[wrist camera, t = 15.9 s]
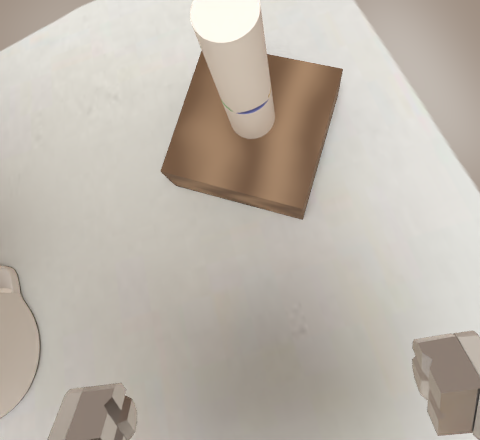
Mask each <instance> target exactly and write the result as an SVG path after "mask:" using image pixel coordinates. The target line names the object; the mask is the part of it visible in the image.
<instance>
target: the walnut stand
mask: <svg viewBox="0 0 480 440" xmlns="http://www.w3.org/2000/svg"><path fill="white" fill-rule="evenodd" d="M267 59H268V67H269V74H270V82H271V89H272V97H273V104H274V112H275V121H274V124H273V126H272V128H271V129H270V131H269V132H268V133H267V134H265V135H264V136H262V137H259V138H256V139H247V138H243V137H241V136H239V135H238V134H237V133H236V132H235V131H234V130H233V128H232V126H231V124H230V121H229V118H228V116H227V113H226V111H225V108H224V106H223V103H222V101H221V98H220V95H219V93H218V90H217V88H216V85H215V83H214V80H213V78H212V75H211V72H210V70H209V67H208V65H207V62H206V60H205V57H204V55H203V52H202V51H201V54H200V57H199V60H198V63H197V66H196V69H195V72H194V75H193V78H192V81H191V83H190V86H189V89H188V92H187V95H186V98H185V101H184V104H183V107H182V110H181V113H180V116H179V119H178V122H177V125H176V128H175V130H174V133H173V136H172V139H171V142H170V145H169V148H168V151H167V154H166V157H165V160H164V163H163V166H162V169H161V172H162V173H163V174H164V175H165V176H166V177H167V178H168V179H169V180H170V181H171V182H172V183H174V184H175V185H176V186H179V187H183V188H187V189H191V190H194V191H198V192H202V193H205V194H209V195H213V196H217V197H220V198H224V199H228V200H232V201H235V202H239V203H243V204H247V205H250V206H254V207H258V208H261V209H265V210H269V211H273V212H276V213H280V214H284V215H288V216H291V217H295V218H299V219H302V220H303V217H304V213H305V210H306V206H307V202H308V199H309V195H310V192H311V188H312V185H313V181H314V178H315V174H316V171H317V167H318V164H319V160H320V157H321V153H322V149H323V146H324V142H325V139H326V135H327V132H328V128H329V125H330V121H331V118H332V114H333V111H334V107H335V104H336V100H337V96H338V92H339V87H340V81H341V76H342V71H343V69H340V68H335V67H330V66H325V65H320V64H315V63H310V62H304V61H299V60H294V59H289V58H284V57H279V56H274V55H269V54H267Z"/></svg>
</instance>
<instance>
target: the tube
mask: <svg viewBox="0 0 480 440" xmlns="http://www.w3.org/2000/svg"><path fill="white" fill-rule="evenodd" d="M190 20H191V23H192V26H193V29H194V32H195V34H196V37H197V39H198V42H199V44H200V47H201V49H202V52H203V55H204V57H205V60H206V62H207V65H208V67H209V70H210V72H211V75H212V78H213V80H214V83H215V85H216V88H217V90H218V93H219V95H220V98H221V101H222V103H223V106H224V108H225V111H226V113H227V116H228V118H229V121H230V124H231V126H232V128H233V130H234V131H235V132H236V133H237V134H238V135H239V136H241V137H243V138H247V139H256V138H259V137H262V136H264V135H265V134H267V133H268V132H269V131H270V129H271V128H272V126H273V124H274V121H275V112H274V104H273V97H272V89H271V82H270V74H269V67H268V59H267V52H266V44H265V37H264V29H263V22H262V14H261V7H260V1H259V0H193V3H192V5H191V10H190Z"/></svg>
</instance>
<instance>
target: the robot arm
mask: <svg viewBox="0 0 480 440" xmlns="http://www.w3.org/2000/svg"><path fill="white" fill-rule="evenodd" d="M412 349H413V351H414V353H415V357H414V358H413V359H412V368H413V373H414V378H415V381H416V384H417V387H418V390H419V392H420V395H421V396H422V397H424V398H425V399H426V400H428V404H427V412H428V414H429V416H430V419H431V421H432V424H433V426H434V428H435V431H436V433H437V435H438V436H441V435H452V434H463V433H473V435H474V436H475V437H476V438H477V439H479V440H480V337H479V336H478V334H477V333H476V332H474V331H467V332H461V333H454V334H451V333H450V334H444V335H438V336H432V337H426V338H419V339H414V340H413V347H412ZM39 350H40V344H39V334H38V329H37V325H36V322H35V320H34V317H33V315H32V313H31V311H30V309H29V308H28V306H27V305H26V303H25V302H24V300H23V298H22V296H21V294H20V287H19V281H18V277H17V274H16V272H15V270H14V269H13V268H11V267H7V266H0V418H1V417H3V416H4V415H6V414H7V413H9V412H10V411H11V410H12V409H13V408H14V407H15V406H16V405H17V404H18V403H19V402H20V401H21V399H22V398H23V397H24V395H25V394H26V392H27V391H28V389H29V387H30V385H31V383H32V381H33V378H34V376H35V373H36V369H37V365H38V360H39ZM125 393H126V388H125V387H124V385H123V384H122V383H116V384H108V385H99V386H91V387H83V388H76V389H70V390H69V391H68V392H67V393H66V394H65V396H64V399H63V401H62V404H61V406H60V409H59V412H58V414H57V417H56V419H55V422H54V424H53V427H52V430H51V432H50V435H49V437H48V440H130V438H131V437H132V436H133V435H134V433H135V430H136V425H137V410H136V406H135V403H134V402H133V400H132V399H131V398H129V397H127V396H125Z"/></svg>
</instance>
